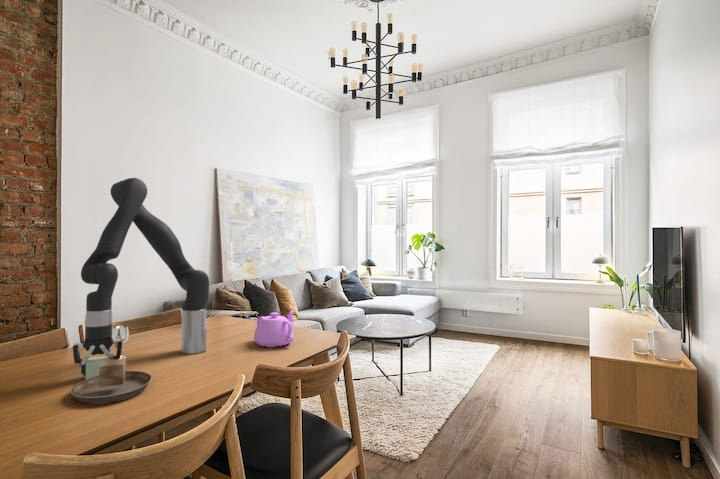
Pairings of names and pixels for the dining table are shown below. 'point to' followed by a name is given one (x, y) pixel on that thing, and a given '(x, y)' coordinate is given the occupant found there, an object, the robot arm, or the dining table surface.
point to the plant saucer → (110, 388)
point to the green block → (94, 366)
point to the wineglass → (120, 335)
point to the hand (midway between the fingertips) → (98, 373)
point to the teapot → (274, 330)
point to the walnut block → (112, 372)
